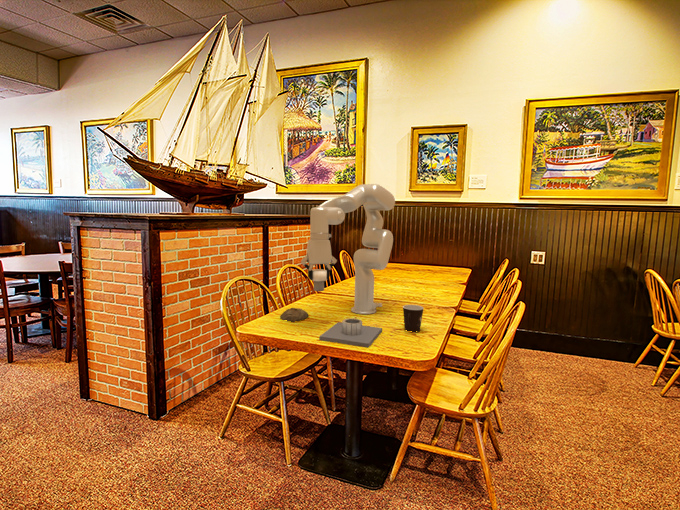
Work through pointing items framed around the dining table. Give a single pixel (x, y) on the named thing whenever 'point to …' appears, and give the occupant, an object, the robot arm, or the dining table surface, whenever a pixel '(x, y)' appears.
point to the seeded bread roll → (294, 315)
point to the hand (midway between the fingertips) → (318, 278)
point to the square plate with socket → (351, 333)
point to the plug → (319, 279)
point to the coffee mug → (412, 317)
